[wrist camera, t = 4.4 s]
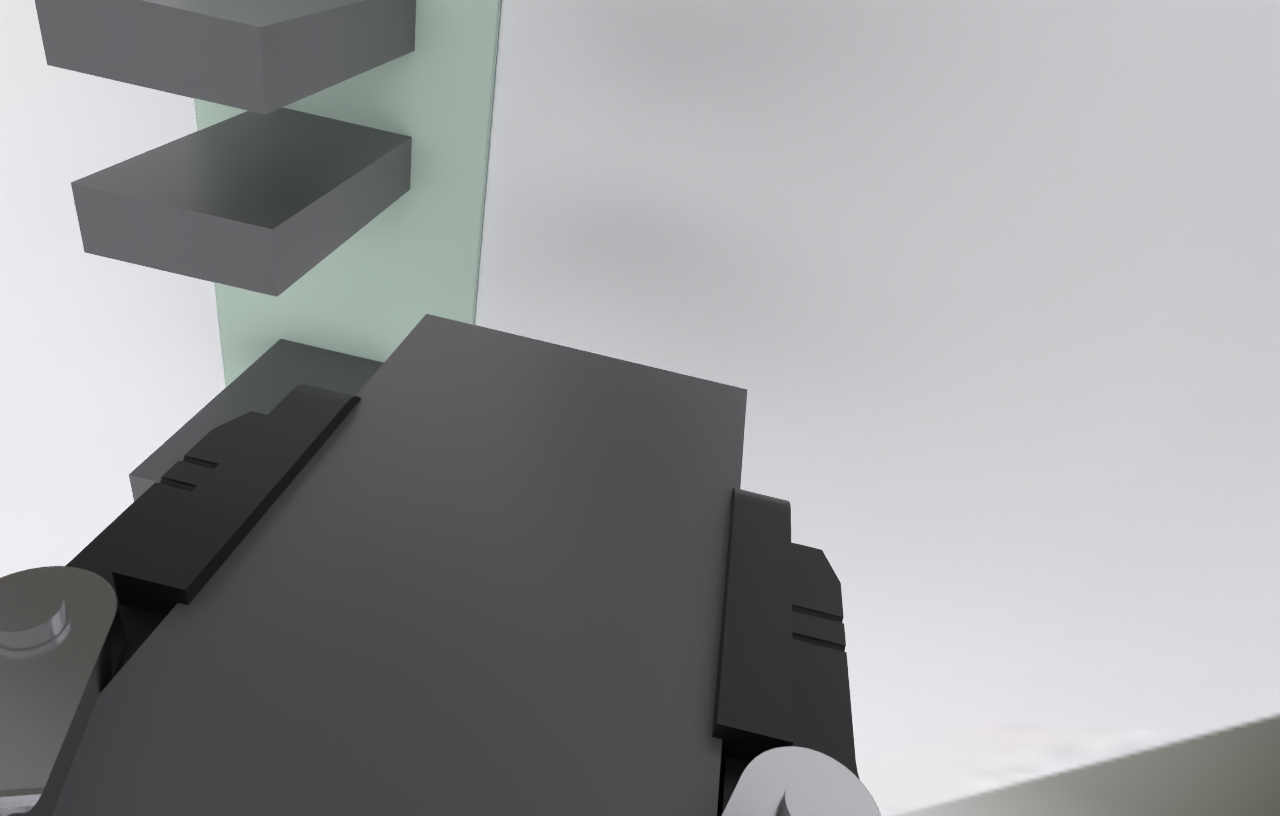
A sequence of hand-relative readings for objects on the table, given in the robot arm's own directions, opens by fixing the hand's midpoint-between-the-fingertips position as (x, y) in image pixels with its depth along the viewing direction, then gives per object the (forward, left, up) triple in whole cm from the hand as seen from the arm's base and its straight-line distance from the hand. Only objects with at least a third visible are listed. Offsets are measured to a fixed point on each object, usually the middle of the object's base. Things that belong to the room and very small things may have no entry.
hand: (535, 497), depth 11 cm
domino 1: (+11, -2, -18) cm, 21 cm away
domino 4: (0, 0, -2) cm, 2 cm away
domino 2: (+11, +3, -18) cm, 21 cm away
